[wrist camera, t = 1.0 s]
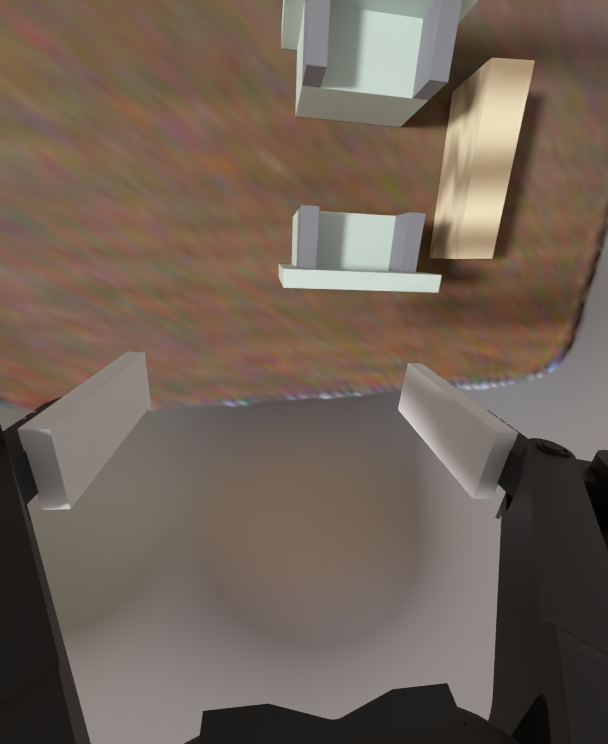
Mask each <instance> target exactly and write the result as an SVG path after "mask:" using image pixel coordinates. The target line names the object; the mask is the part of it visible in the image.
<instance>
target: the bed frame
mask: <svg viewBox="0 0 608 744" xmlns="http://www.w3.org/2000/svg"><path fill="white" fill-rule="evenodd" d="M477 1H478V0H283V13H282V39H281V48H283V49H290V50H297V83H296V117H306V118H316V119H326V120H336V121H345V122H355V123H365V124H375V125H385V126H395V127H401V126H402V125H403V124H404V123H405V122H406V121H407V120H408V119H409V118H410V117H411V116H412V115H414V114H415V113H416V112H417V111H418V110H419V109H420V108H421V107H422V106H423V105H424V104H425V103H426V102H427V101H428V100H429V99H431V98H432V97H433V96H434V95H435V94H436V93H437V92H438V91H439V90H440V89H441V88H442V87H443V86H444V85H445V84H447V83H448V80H449V74H450V68H451V62H452V56H453V50H454V45H455V39H456V33H457V27H458V24H459V23H460V21H461V20H462V19H463V18H464V17H465V15H466V14H467V13H468V12H469V11H470V10H471V8H472V7H473V6H474V5H475V4H476V2H477ZM425 214H426V213H412V212H409V213H405V214H402V215H398V216H386V215H371V214H355V213H339V212H324V211H319V206H306V205H301V207H300V208H299V209H298V211H297V212H296V213H295V215H294V216H293V236H292V264H279V279H280V281H281V283H282V285H283V288H315V289H346V290H377V291H408V292H438V291H439V286H440V281H441V276H442V275H437V274H430V273H422V272H416V267H417V261H418V255H419V249H420V243H421V237H422V231H423V226H424V220H425Z"/></svg>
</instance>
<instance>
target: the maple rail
mask: <svg viewBox="0 0 608 744" xmlns="http://www.w3.org/2000/svg"><path fill="white" fill-rule="evenodd" d="M534 62H535V60H520V59H505V58H491V59H490V60H489V61H487V62H486V63H485V64H484V65H483V66H482V67H480V68H479V69H478V70H477V71H476V72H475V73H473V74H472V75H471V76H470V77H469V78H468V79H467V80H465V81H464V82H463V83H462V84H461V85H460V86H458V87H457V88H456V89H455V90H454V91H453V93H452V100H451V107H450V114H449V121H448V128H447V136H446V143H445V150H444V157H443V164H442V171H441V178H440V185H439V192H438V199H437V206H436V213H435V220H434V228H433V235H432V242H431V249H430V256H429V258H444V259H492V258H493V253H494V248H495V244H496V239H497V234H498V230H499V225H500V220H501V216H502V211H503V206H504V202H505V197H506V192H507V188H508V183H509V178H510V174H511V169H512V164H513V160H514V155H515V151H516V146H517V141H518V137H519V132H520V127H521V123H522V118H523V113H524V109H525V104H526V99H527V95H528V90H529V85H530V81H531V76H532V71H533V67H534Z"/></svg>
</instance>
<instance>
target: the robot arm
mask: <svg viewBox="0 0 608 744" xmlns="http://www.w3.org/2000/svg"><path fill="white" fill-rule="evenodd" d="M150 405H151V402H150V394H149V385H148V376H147V368H146V359H145V353H144V352H126V353H125V354H123V355H122V356H121V357H119V358H118V359H116V360H115V361H114V362H112V363H111V364H109V365H108V366H106V367H105V368H104V369H102V370H101V371H99V372H98V373H96V374H95V375H94V376H92V377H91V378H89V379H88V380H86V381H85V382H84V383H82V384H81V385H79V386H78V387H76V388H75V389H74V390H72V391H71V392H69V393H68V394H66V395H65V396H64V397H60V398H57V399H55V400H52V401H50V402H47V403H45V404H43V405H42V406H40V407H39V408H37V409H36V410H34V411H33V413H30V414H28V415H27V416H25V417H24V418H23V420H19V421H18V422H16V423H15V424H13V425H12V426H10V427H9V428H7V429H6V430H5V431H2V428H1V425H0V744H91V743H90V739H89V736H88V732H87V728H86V724H85V720H84V717H83V713H82V709H81V705H80V702H79V698H78V694H77V690H76V687H75V683H74V679H73V675H72V672H71V668H70V664H69V660H68V657H67V653H66V649H65V645H64V641H63V638H62V634H61V630H60V627H59V623H58V619H57V615H56V611H55V608H54V604H53V600H52V596H51V593H50V589H49V586H48V581H47V578H46V574H45V570H44V566H43V562H42V559H41V555H40V551H39V548H38V544H37V540H36V536H35V533H34V529H33V525H32V521H31V517H30V514H29V511H28V508H27V504H28V503H29V501H31V500H32V499H33V497H35V495H36V494H37V495H38V498H39V502H40V505H41V508H42V510H45V509H46V510H47V509H70V508H71V507H72V506H73V505H74V504H75V502H76V501H77V499H78V498H79V497H80V496H81V494H82V493H83V492H84V490H85V489H86V488H87V487H88V485H89V484H90V483H91V482H92V480H93V479H94V478H95V476H96V475H97V474H98V473H99V471H100V470H101V469H102V467H103V466H104V465H105V463H106V462H107V461H108V460H109V458H110V457H111V456H112V454H113V453H114V452H115V450H116V449H117V448H118V446H119V445H120V444H121V442H122V441H123V440H124V439H125V438H126V436H127V435H128V433H129V432H130V431H131V430H132V428H133V427H134V426H135V425H136V423H137V422H138V421H139V419H140V418H141V417H142V415H143V414H144V413H145V412H146V410H147V409H148V408H149V406H150ZM398 410H399V411H400V412H401V413H402V415H403V416H404V417H405V418H406V419H407V420H408V422H409V423H410V424H411V425H412V426H413V428H414V429H415V430H416V431H417V432H418V434H419V435H420V436H421V437H422V438H423V440H424V441H425V442H426V443H427V444H428V446H429V447H430V448H431V449H432V450H433V452H434V453H435V454H436V455H437V456H438V458H439V459H440V460H441V461H442V462H443V463H444V465H445V466H446V467H447V468H448V470H449V471H450V472H451V473H452V474H453V476H454V477H455V478H456V479H457V480H458V481H459V483H460V484H461V485H462V486H463V487H464V489H465V490H466V491H467V492H468V493H469V495H470V496H471V497H472V498H473V499H486V498H493V496H494V493H495V491H496V488H497V485H498V484H499V485H500V486H501V487H502V488H503V489H504V490H505V491H506V493H505V496H504V498H503V501H502V503H501V505H500V508H499V510H498V513H497V515H496V518H498V519H499V518H500V517H501V516H502V518H501V538H500V559H499V580H498V599H497V620H496V641H495V661H494V682H493V683H494V684H493V699H492V707H491V713H490V717H489V720H488V721H487V720H486V719H484V718H482V717H480V716H478V715H477V714H474V713H472V712H470V711H467V710H465V709H462V708H460V707H457V706H456V703H455V701H454V698H453V696H452V693H451V691H450V689H449V686H448V684H447V683H445V684H436V685H427V686H418V687H410V688H401V689H393V690H391V691H389V692H387V693H385V694H383V695H382V696H380V697H378V698H376V699H374V700H372V701H371V702H369V703H367V704H365V705H363V706H362V707H360V708H358V709H356V710H354V711H353V712H351V713H349V714H347V715H346V716H344V717H342V718H340V719H336V720H331V719H326V718H322V717H318V716H314V715H310V714H307V713H303V712H299V711H295V710H291V709H287V708H283V707H279V706H275V705H271V704H261V705H252V706H244V707H236V708H235V707H234V708H226V709H217V710H208V711H203V716H202V724H201V730H200V735H199V736H197V737H196V738H194V739H192V740H190V741H188V742H186V743H185V744H608V451H607V450H599V451H598V452H597V453H596V455H595V457H594V459H593V461H592V462H590V461H584V460H579V459H576V457H575V456H574V455H573V453H572V452H570V451H569V450H567V449H566V448H564V447H562V446H560V445H558V444H556V443H554V442H551V441H548V440H543V439H538V438H531V439H527V438H526V437H525V436H524V435H522V434H521V433H519V432H518V431H517V430H515V429H514V428H512V427H511V426H510V425H508V424H506V423H505V422H504V421H503V420H501V419H498V417H497V416H496V415H494V414H493V413H491V412H490V411H488V410H486V409H484V408H483V407H482V406H480V405H479V404H477V403H476V402H474V401H473V400H472V399H470V398H469V397H468V396H466V395H465V394H463V393H462V392H461V391H459V390H458V389H456V388H455V387H454V386H452V385H451V384H449V383H448V382H447V381H445V380H444V379H442V378H441V377H440V376H438V375H437V374H435V373H434V372H433V371H431V370H430V369H428V368H427V367H426V366H424V365H423V364H417V363H408V366H407V371H406V375H405V380H404V384H403V389H402V394H401V398H400V403H399V407H398Z"/></svg>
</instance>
